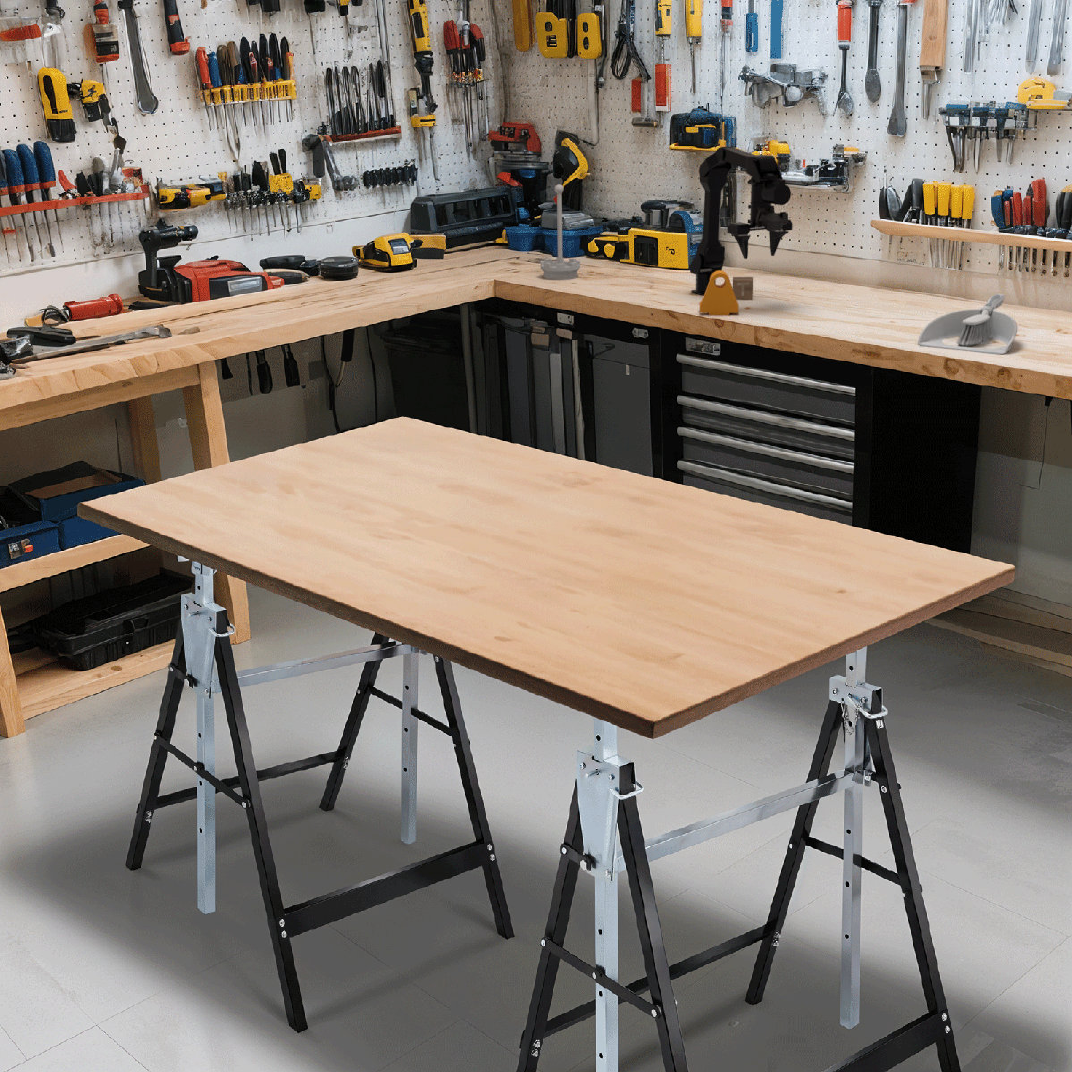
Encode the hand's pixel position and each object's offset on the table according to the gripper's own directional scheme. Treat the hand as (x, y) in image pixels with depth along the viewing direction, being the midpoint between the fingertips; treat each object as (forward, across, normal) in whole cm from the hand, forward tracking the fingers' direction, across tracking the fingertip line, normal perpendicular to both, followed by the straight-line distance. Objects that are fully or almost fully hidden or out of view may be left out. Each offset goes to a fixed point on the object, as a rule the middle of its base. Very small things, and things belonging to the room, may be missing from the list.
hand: (759, 257), depth 391 cm
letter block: (+15, +5, +15) cm, 22 cm away
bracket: (+15, -13, 0) cm, 20 cm away
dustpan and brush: (+15, +26, -62) cm, 70 cm away
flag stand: (+15, -25, +78) cm, 83 cm away
